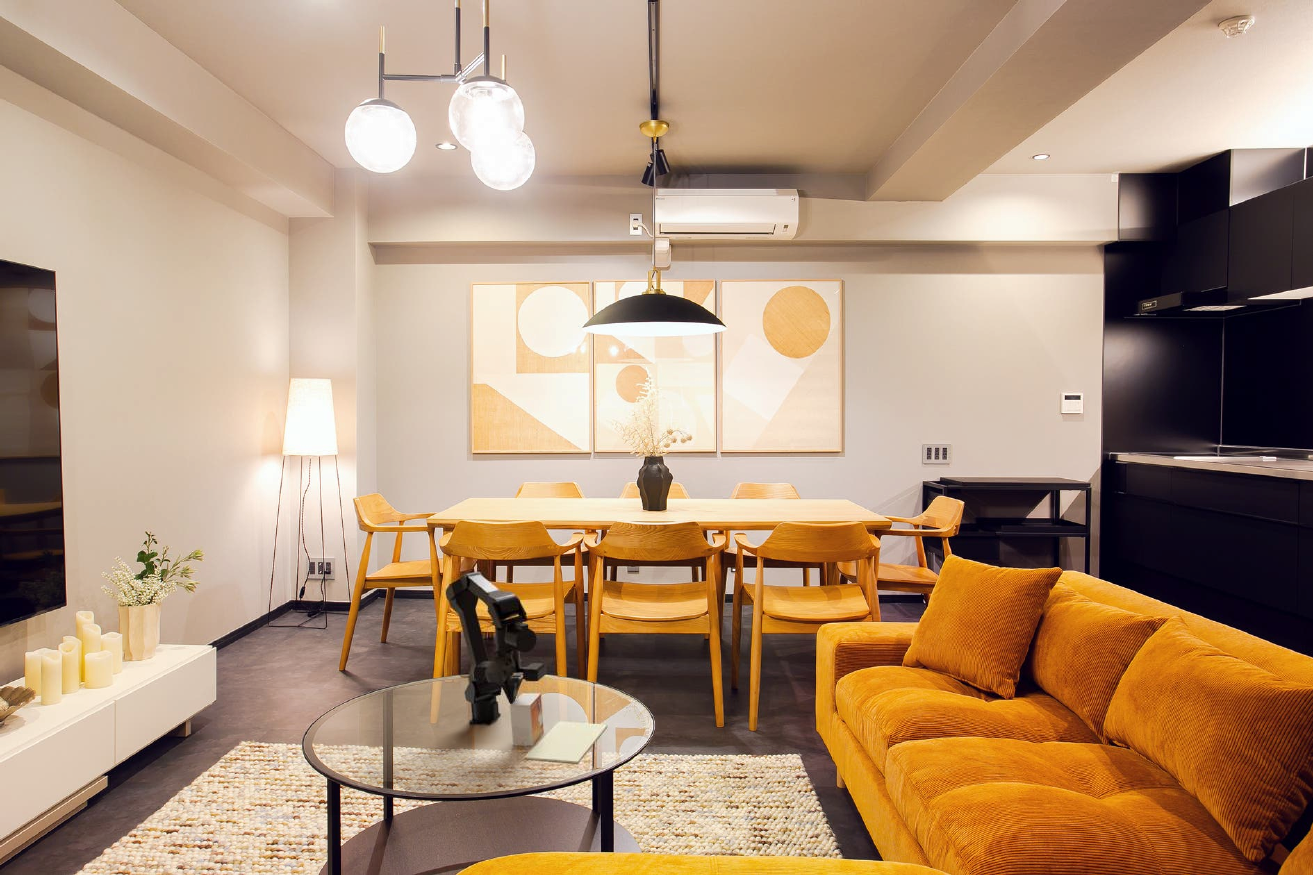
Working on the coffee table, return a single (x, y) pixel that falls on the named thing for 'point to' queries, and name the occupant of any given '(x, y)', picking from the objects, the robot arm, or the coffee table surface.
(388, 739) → the coffee table surface
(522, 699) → the small box
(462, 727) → the coffee table surface
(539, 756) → the mat
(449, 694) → the coffee table surface
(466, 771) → the coffee table surface
